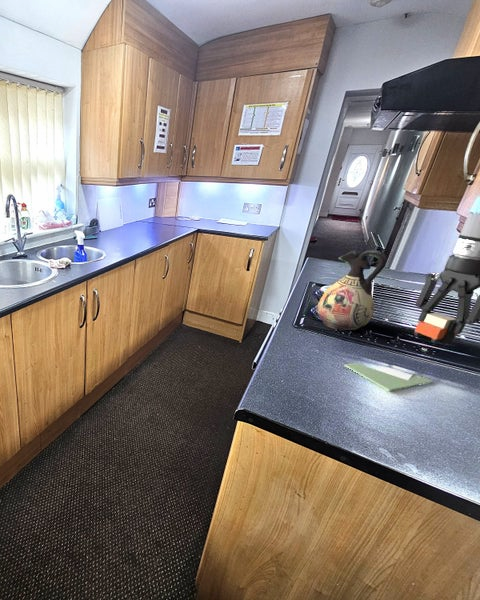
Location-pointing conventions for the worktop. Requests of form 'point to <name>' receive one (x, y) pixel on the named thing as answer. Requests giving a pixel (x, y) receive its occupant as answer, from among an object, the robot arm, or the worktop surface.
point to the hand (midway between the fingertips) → (433, 337)
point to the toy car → (434, 326)
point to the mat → (386, 378)
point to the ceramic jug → (351, 294)
